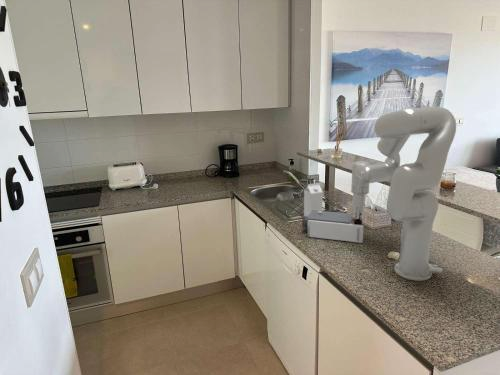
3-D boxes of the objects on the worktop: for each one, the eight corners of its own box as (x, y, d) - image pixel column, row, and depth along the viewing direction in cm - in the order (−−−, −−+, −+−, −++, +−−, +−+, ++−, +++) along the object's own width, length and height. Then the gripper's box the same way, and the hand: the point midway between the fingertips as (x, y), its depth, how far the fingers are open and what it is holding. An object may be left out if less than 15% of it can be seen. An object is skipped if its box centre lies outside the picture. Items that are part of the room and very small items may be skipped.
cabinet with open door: (351, 231, 166) (352, 211, 163) (348, 241, 155) (349, 220, 152) (306, 226, 174) (306, 207, 171) (300, 235, 163) (300, 215, 160)
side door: (362, 241, 153) (363, 225, 151) (362, 243, 151) (363, 226, 149) (307, 235, 161) (307, 219, 159) (307, 236, 160) (307, 220, 158)
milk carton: (303, 216, 187) (304, 182, 182) (315, 214, 189) (315, 181, 184) (310, 220, 181) (311, 186, 175) (322, 218, 183) (323, 184, 178)
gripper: (352, 184, 160) (350, 220, 165) (349, 193, 147) (347, 232, 152) (369, 185, 157) (367, 222, 163) (368, 194, 144) (365, 234, 149)
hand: (357, 227), depth 157 cm, fingers closed
